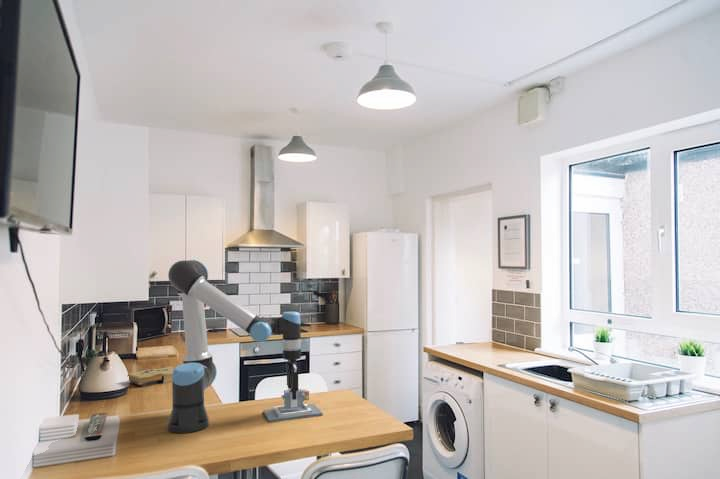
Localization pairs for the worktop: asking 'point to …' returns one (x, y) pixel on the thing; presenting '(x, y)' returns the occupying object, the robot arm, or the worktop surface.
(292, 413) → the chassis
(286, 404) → the servo block
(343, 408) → the worktop surface
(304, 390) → the oak block
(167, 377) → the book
